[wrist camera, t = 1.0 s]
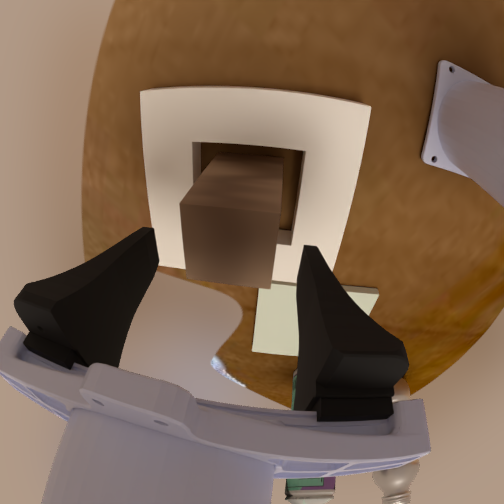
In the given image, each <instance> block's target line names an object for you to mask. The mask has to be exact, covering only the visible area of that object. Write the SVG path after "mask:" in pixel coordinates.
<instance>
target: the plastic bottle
mask: <svg viewBox="0 0 504 504" xmlns="http://www.w3.org/2000/svg"><path fill="white" fill-rule="evenodd" d="M394 392H395V394H394V396H393V397H392V403H395V402H398V401H403V400H410V389H409V386H408V384H407V381H406V380H404V379H403V378H401V379H400V380H399V381H398V382H397V383H396V384H395V385H394ZM419 467H420V464H419V460H418V459H416V460H414V461H412V462H410V463H407V464H405V465H403V466H400V467H397V468H391V469H386V470H379V471H373V474H372V477H373V480H374V482H375V484H376V485H377V486H378V487H379V488H380V489H381V490H382V491H383V492H384V497H382V500H383V504H407V503H410V494H411V491H409V486H410V485H411V483H412V482H413V480H414V479H415V477H416V475H417V473H418V471H419Z"/></svg>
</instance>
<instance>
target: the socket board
mask: <svg viewBox="0 0 504 504" xmlns="http://www.w3.org/2000/svg"><path fill="white" fill-rule="evenodd" d="M140 105H141V126H142V141H143V154H144V165H145V174H146V184H147V192H148V200H149V208H150V215H151V222H152V228H154V230H155V237H156V243H157V249H158V255H159V260H160V261H159V265H161V266H168V267H175V268H182V269H186V267H185V259H184V250H183V240H182V230H181V218H180V206H179V203H180V202H181V201H182V199H183V198H184V196H185V195H186V194H187V192H188V191H189V190H190V188H191V187H192V186H193V184H194V183H195V182H196V180H197V179H198V178H199V176H200V175H201V142H214V143H231V144H245V145H257V146H268V147H277V148H286V149H294V150H302V151H303V156H302V163H301V170H300V177H299V184H298V191H297V198H296V204H295V211H294V217H293V224H292V230H291V231H289V230H280V229H279V231H278V239H277V246H276V254H275V261H274V268H273V275H272V280H275V281H284V282H293V283H297V275H298V270H299V266H300V261H301V256H302V251H303V246H304V245H312V246H317V247H318V248H319V250H320V252H321V254H322V256H323V257H324V259H325V261H326V263H327V264H328V266H329V268H330V269H331V271H333V268H334V264H335V261H336V258H337V254H338V251H339V247H340V244H341V240H342V237H343V233H344V230H345V226H346V222H347V219H348V215H349V211H350V207H351V203H352V199H353V195H354V191H355V187H356V182H357V178H358V174H359V169H360V164H361V160H362V155H363V150H364V145H365V140H366V135H367V129H368V124H369V118H370V112H371V106H368V105H366V104H364V103H361V102H356V101H352V100H347V99H342V98H337V97H331V96H325V95H319V94H313V93H306V92H299V91H291V90H282V89H271V88H259V87H241V86H181V87H164V88H153V89H148V90H143V91H140Z"/></svg>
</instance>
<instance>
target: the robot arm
mask: <svg viewBox="0 0 504 504" xmlns="http://www.w3.org/2000/svg"><path fill="white" fill-rule="evenodd" d="M449 67H451V68H452V72H450V71H449ZM433 156H435V159H434V160H433V161H431V158H432V157H433ZM421 158H422V160H423V162H425V163H426V164H429V165H433V166H436V167H439V168H442V169H445V170H448V171H452V172H455V173H457V174H460V175H463V176H466V177H469V178H471V179H472V180H474V181H475V182H476V183H477V184H478V185H479V186H481V187H482V188H483V189H484V190H485V191H486V192H487V193H489V194H490V195H491V196H492V197H493V198H494V199H495V200H496V201H497V202H498V203H499V204H501V205H502V206H503V207H504V88H501V87H497V86H493V85H491V84H489V83H488V82H486V81H484V80H483V79H481V78H479V77H477V76H476V75H474V74H472V73H470V72H468V71H466V70H465V69H463V68H461V67H459V66H457V65H455V64H453V63H450V62H448V61H446V60H441V61H440V62H439V64H438V71H437V78H436V85H435V92H434V98H433V104H432V109H431V114H430V119H429V124H428V129H427V133H426V138H425V142H424V146H423V150H422V154H421ZM159 261H160V260H159V255H158V249H157V243H156V237H155V230H154V228H148V227H142V228H141V229H139V230H137V231H135V232H134V233H132V234H131V235H129V236H128V237H126V238H125V239H123V240H122V241H120V242H118V243H117V244H115V245H114V246H112V247H111V248H109V249H108V250H106V251H104V252H103V253H101V254H99V255H98V256H96V257H94V258H93V259H91V260H89V261H87V262H85V263H83V264H81V265H79V266H77V267H75V268H73V269H70V270H68V271H66V272H63V273H61V274H58V275H56V276H53V277H50V278H46V279H43V280H40V281H36V282H32V283H28V284H26V285H25V286H24V288H23V289H22V290H21V292H20V293H19V294H18V296H17V297H16V298H15V300H14V307H15V309H16V312H17V313H18V315H19V317H20V318H21V320H22V321H23V323H24V324H25V325H26V327H27V328H28V330H29V331H30V332H29V334H28V335H27V336H26V335H25V334H24V333H23V332H21V331H19V330H17V329H15V328H13V327H12V326H10V327H9V328H8V330H7V331H6V333H5V334H4V336H3V338H2V339H1V341H0V375H1V376H2V377H3V378H4V379H5V380H6V381H7V382H8V383H9V384H10V385H11V386H12V387H13V388H14V389H16V390H17V391H19V392H20V393H22V394H23V395H25V396H26V397H28V398H29V399H31V400H32V401H34V402H35V403H37V404H39V405H40V406H42V407H43V408H45V409H47V410H48V411H50V412H51V413H53V414H55V415H57V416H58V417H60V418H62V419H63V420H65V421H67V422H68V423H67V426H66V428H65V431H64V433H63V436H62V439H61V441H60V444H59V447H58V450H57V453H56V456H55V459H54V462H53V465H52V468H51V471H50V474H49V477H48V481H47V484H46V488H45V491H44V495H43V499H42V502H41V504H271V496H272V487H273V478H281V479H293V478H319V477H333V476H343V475H351V474H359V473H366V472H373V471H379V470H386V469H391V468H397V467H400V466H403V465H405V464H407V463H410V462H412V461H414V460H416V459H418V458H421V457H422V456H425V455H427V454H429V453H430V452H431V447H430V440H429V432H428V426H427V419H426V414H425V408H424V402H423V399H413V400H403V401H398V402H395V403H392V397H393V396H394V394H395V392H394V385H395V384H396V383H397V382H398V381H399V380H400V379H401V378H402V377H403V376H404V374H405V373H406V371H407V370H408V367H409V362H408V358H407V353H406V350H405V347H404V344H403V342H402V341H401V340H399V339H398V338H396V337H395V336H393V335H392V334H390V333H389V332H388V331H386V330H385V329H384V328H382V327H381V326H380V325H379V324H377V323H376V322H375V321H374V320H373V319H372V318H370V317H369V316H368V315H367V314H366V313H365V312H364V311H363V310H362V309H361V308H360V307H359V306H358V305H357V304H356V303H355V302H354V300H353V299H352V298H351V297H350V296H349V295H348V293H347V292H346V291H345V290H344V288H343V287H342V286H341V284H340V283H339V281H338V280H337V278H336V277H335V275H334V274H333V272H332V271H331V269H330V268H329V266H328V264H327V263H326V261H325V259H324V257H323V256H322V254H321V252H320V250H319V248H318V247H317V246H312V245H304V246H303V251H302V256H301V261H300V266H299V270H298V275H297V285H296V303H297V317H298V331H299V351H298V367H297V380H296V390H295V400H294V408H293V410H279V409H267V408H257V407H248V406H240V405H234V404H226V403H220V402H214V401H208V400H203V399H198V398H194V397H193V396H192V395H191V393H190V392H189V391H187V390H185V389H183V388H182V387H180V386H178V385H175V384H172V383H169V382H166V381H163V380H159V379H155V378H151V377H148V376H143V375H140V374H136V373H133V372H129V371H126V370H123V369H119V368H118V367H119V363H120V359H121V354H122V350H123V347H124V343H125V340H126V337H127V333H128V331H129V328H130V325H131V322H132V319H133V317H134V314H135V312H136V310H137V308H138V306H139V304H140V302H141V300H142V298H143V297H144V295H145V293H146V291H147V289H148V287H149V285H150V283H151V281H152V279H153V277H154V275H155V272H156V270H157V267H158V264H159Z"/></svg>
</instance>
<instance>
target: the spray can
mask: <svg viewBox="0 0 504 504" xmlns="http://www.w3.org/2000/svg"><path fill="white" fill-rule="evenodd" d="M296 380H297V369H296V370H295V371H294V374H293V391H292V410H293V408H294V400H295V390H296ZM334 493H335V476H333V477H319V478H293V479H286V487H285V495H286V496H287V497H286V498H285V500H288V501H289V502H291V503H292V504H324V503H326V502H328V501H329V500H330V499H333V498H334V496H333V494H334Z"/></svg>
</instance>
